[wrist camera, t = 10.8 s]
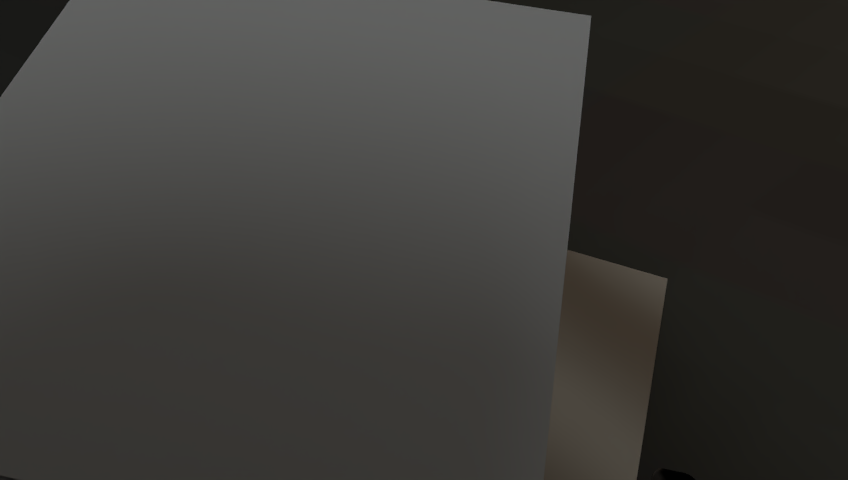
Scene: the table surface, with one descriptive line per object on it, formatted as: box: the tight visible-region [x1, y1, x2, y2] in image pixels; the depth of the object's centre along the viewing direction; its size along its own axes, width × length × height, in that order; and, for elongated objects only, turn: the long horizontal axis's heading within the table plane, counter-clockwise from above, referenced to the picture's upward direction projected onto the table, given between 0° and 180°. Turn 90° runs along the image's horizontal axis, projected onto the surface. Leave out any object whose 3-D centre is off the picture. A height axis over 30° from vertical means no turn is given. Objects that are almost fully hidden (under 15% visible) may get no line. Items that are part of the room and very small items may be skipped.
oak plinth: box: [544, 250, 667, 480], centre depth 16 cm, size 16×13×2 cm
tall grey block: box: [0, 0, 591, 480], centre depth 10 cm, size 4×4×13 cm
